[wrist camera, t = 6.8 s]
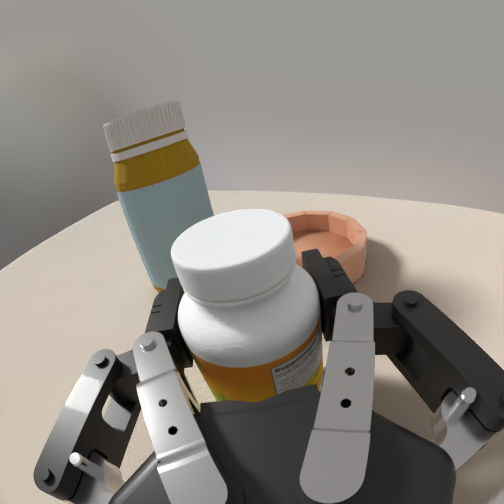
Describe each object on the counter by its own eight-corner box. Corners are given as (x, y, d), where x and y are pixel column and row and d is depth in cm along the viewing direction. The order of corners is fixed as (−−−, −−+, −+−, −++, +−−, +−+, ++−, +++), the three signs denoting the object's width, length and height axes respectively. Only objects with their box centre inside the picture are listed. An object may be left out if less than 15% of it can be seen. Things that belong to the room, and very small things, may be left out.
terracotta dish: (356, 306, 19) (357, 277, 17) (229, 290, 23) (221, 264, 22) (369, 236, 26) (369, 212, 25) (274, 232, 31) (270, 210, 29)
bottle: (143, 301, 24) (79, 134, 17) (172, 258, 30) (129, 119, 22) (215, 301, 22) (158, 102, 15) (235, 254, 28) (197, 97, 21)
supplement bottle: (204, 397, 15) (128, 248, 10) (274, 344, 17) (241, 193, 12) (269, 460, 11) (202, 315, 6) (343, 389, 13) (348, 217, 9)
